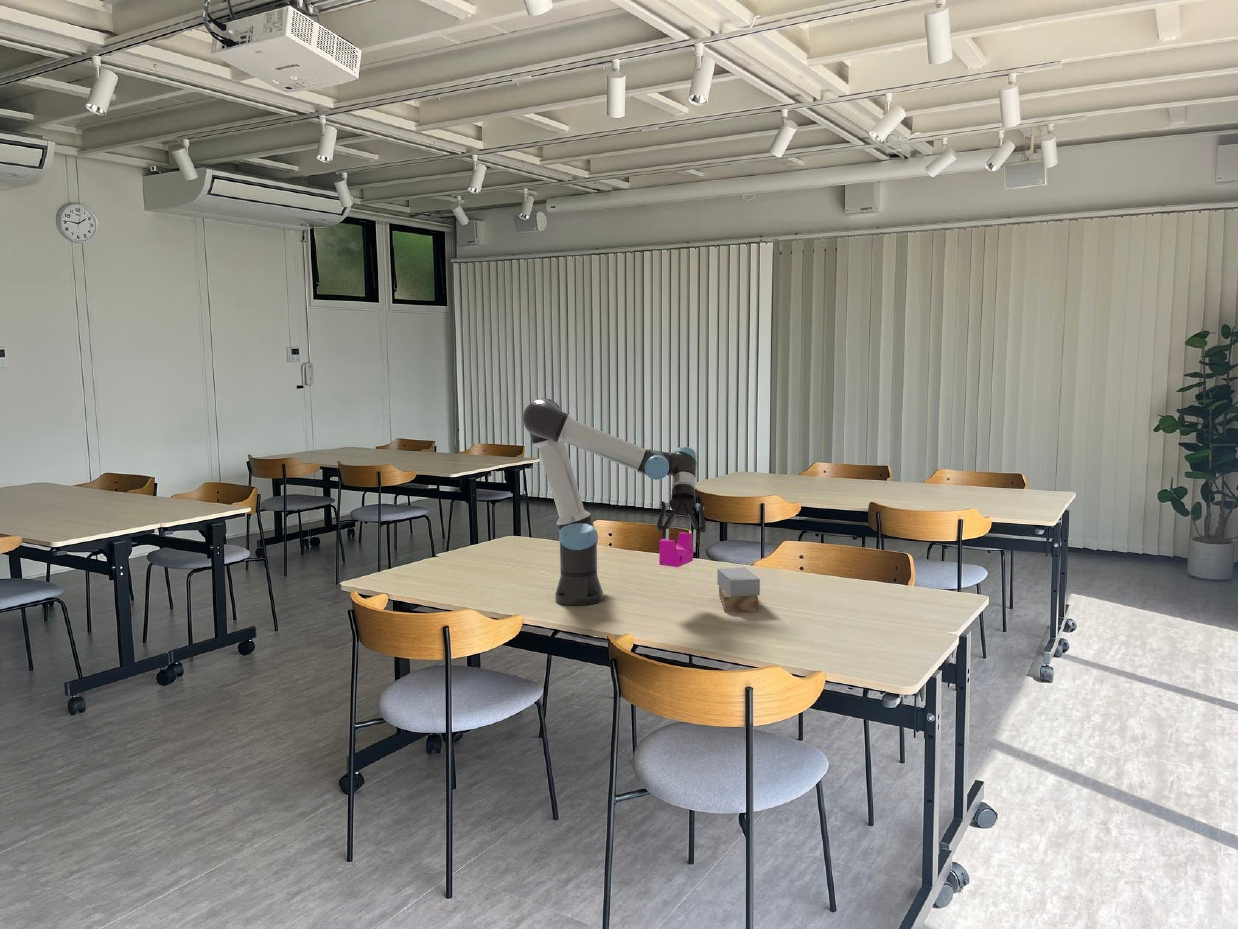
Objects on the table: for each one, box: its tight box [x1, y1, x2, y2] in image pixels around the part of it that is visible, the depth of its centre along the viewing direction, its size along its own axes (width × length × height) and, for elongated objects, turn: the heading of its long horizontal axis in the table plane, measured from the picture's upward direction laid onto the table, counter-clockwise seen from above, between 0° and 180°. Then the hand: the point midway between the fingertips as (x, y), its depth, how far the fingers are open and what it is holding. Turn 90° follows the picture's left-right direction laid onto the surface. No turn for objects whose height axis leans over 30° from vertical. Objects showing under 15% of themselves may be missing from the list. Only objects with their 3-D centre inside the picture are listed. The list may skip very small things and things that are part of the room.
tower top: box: [716, 567, 761, 597], centre depth 282 cm, size 9×16×5 cm, turn 8°
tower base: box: [718, 585, 759, 613], centre depth 282 cm, size 10×18×5 cm, turn 179°
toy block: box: [658, 531, 694, 568], centre depth 279 cm, size 15×6×8 cm, turn 150°
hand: (680, 549), depth 279 cm, fingers closed on toy block, 8 cm apart
